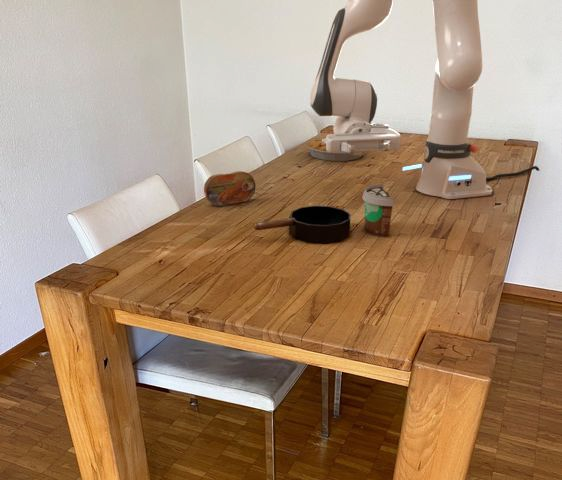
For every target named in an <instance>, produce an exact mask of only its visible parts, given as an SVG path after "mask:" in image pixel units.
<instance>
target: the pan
mask: <svg viewBox="0 0 562 480" xmlns="http://www.w3.org/2000/svg"><path fill="white" fill-rule="evenodd" d="M351 218H352V214H351V213H350V212H348V211H346V209H343V208H340V207H335V206H330V205H308V206H301V207H298V208H295V209H293V210H291V211H290V213H289V216H288V217H287V218H282V219H281V218H280V219H273V220H266V221H259V222H255V223H254V225H253V228H254V230H256V231H263V230H270V229H271V230H272V229H278V228H285V227H288V235H289V236H290V237H292V238H293V239H294V240H296V241H300V242H303V243H307V244H314V245H315V244H316V245H327V244H328V245H329V244H335V243H341V242H342V241H345V240H347V239H349V238H350V233H351Z"/></svg>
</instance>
